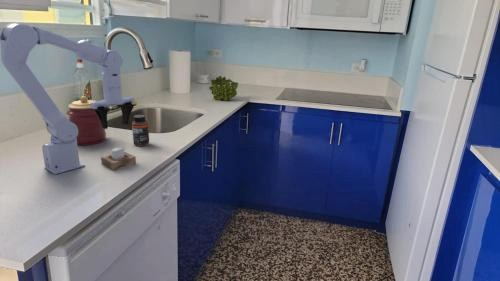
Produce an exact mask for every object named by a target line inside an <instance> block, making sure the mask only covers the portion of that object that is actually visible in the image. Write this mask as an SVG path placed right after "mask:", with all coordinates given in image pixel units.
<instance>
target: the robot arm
mask: <svg viewBox="0 0 500 281" xmlns="http://www.w3.org/2000/svg"><path fill="white" fill-rule="evenodd" d="M47 44H49V45H51V46H55V47H58V48H61V49H64V50H67V51H71V52H73V53H74V54H75V55H76V57H77V58H78V59H80V60H83V61H87V62H89V63H92V64H96V65H99V66H100V69H101V70H100V71H101V81H102V91H103V99H101V100H95V101H96V102H91V108H93V109H94V111H95V112H96V114H97V115H98V117H99V119H100V121H101V124H102V127H103V128H104V129H105V130H107V129H108V126H109V125H108V109H106V108H108V107H114V106H120V111H121V116H122V124H123V125H126V126H127V125H129V122H130V117H131V113H132V111H133V109H134V107H135V105H134V104H135V97H133V96H126V97H123V92H122V79H121V67H122V65H123V58H122V57H121V54H119V52H117V51H116V50H112V49H108V48H107V46H105V45H101V46H100V45H99V44H96V43H93V41H92V40H91V39H86V40H85V39H82V40H81V39H80V40H79V41H76V40H73V39H70V38H68V37H66V36H63V35H61V34H58V33H56V32H54V31H51V30H49V29H46V28H41V27H37V26H31V25H29V24H26V23H16V22H15V23H14V22H12V23H11V22H10V23H8V24H5V26H4V27H3V28H2V29H1V33H0V54H1V55H0V56H1V64H2V66H4V68H5V69H6V70H7V72H8V73H9V74H10V76H11V77H12V78H13V79H14V81H15V82H16V83H17V85H18V86H19V88H20V89H21V90H22V91H23V93H24V95H26V97H27V98H28V99H29V101H30V102H31V104H32V105H33V106H34V108H36V110H37V111H38V113H39V114H40V115H41V117H42V120H43V122H44V123H45V127H46V131H47V132H48V134H50V135H51V136H50V139H49V141H48V142H47V143H44V144H42V146H41V147H42V148H41V150H42V155H43V157H42V158H43V162H44V166H43V167H44V169H46V170H48V171H49V172H50V173H52V174H53V175H57V174H61V173H64V172H68V171H72V170H75V169H80V168H83V167H86V164H85V163H83V162H81V161H80V155H79V154H80V153H79V147H78V145H77V139H76V137H77V135H78V128H77V126H76V125H75V124H74V123H72V122H70V121H69V120H68V119H69V118H67V116H66V115H65V114H64V113H63V112H62V111H61V110H60V109H59V108H58V106H57V104H55V101H53V99H52V98H51V96H50V95H49V94H48V92H47V91H46V90H45V88H44V86H43V85H42V84H41V82H40V81H39V80H38V78H37V76H36V75H35V74H34V72H33V71H32V70H31V68H30V67H29V66H28V64H27V61H28V58H29V55H30V52H32V50H33V49H34V48H35V47H36V45H39V46H40V45H47Z"/></svg>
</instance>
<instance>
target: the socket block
mask: <svg viewBox="0 0 500 281" xmlns="http://www.w3.org/2000/svg"><path fill="white" fill-rule="evenodd" d="M124 155H125V157H124V158H120V159H118V160H117V161H114V160H112V156H111V154H106V155H103V156H100V163H101V165H103V166H105V167H107V168H109V170H112V171H117V170H119V169H123V168H127V167H130V166H133V165H136V164H137V158H136V157H137V156H135V155H132V154H131V153H128V152H126V151H124Z"/></svg>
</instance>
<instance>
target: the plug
mask: <svg viewBox="0 0 500 281" xmlns="http://www.w3.org/2000/svg"><path fill="white" fill-rule="evenodd" d="M124 152H125V148H123V147H114V148H112V149H110V153H111V156H112V160H114V161H117V160H118V159H120V158H124V157H125V155H124Z"/></svg>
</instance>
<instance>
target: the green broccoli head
mask: <svg viewBox="0 0 500 281" xmlns="http://www.w3.org/2000/svg"><path fill="white" fill-rule="evenodd" d="M210 83H211V84H210V85H211V86H210V87H209V90H210V91H211V92H210V93H211V95H213V100H216V101H217V100H218V101H220V100H223V101H228V100H232V98H235V97H236V96H237V95H238V92H237V91H238V90H237V89H238V87H239V82H236V81H233V80H232V79H231V78H229V77H228V79H227V78H226V76H223V77H222V76H220V75H219V76H216V77H215V79H211V82H210Z"/></svg>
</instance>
